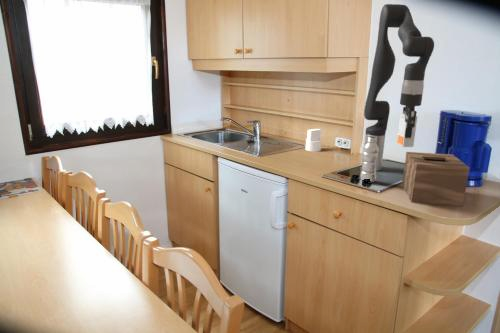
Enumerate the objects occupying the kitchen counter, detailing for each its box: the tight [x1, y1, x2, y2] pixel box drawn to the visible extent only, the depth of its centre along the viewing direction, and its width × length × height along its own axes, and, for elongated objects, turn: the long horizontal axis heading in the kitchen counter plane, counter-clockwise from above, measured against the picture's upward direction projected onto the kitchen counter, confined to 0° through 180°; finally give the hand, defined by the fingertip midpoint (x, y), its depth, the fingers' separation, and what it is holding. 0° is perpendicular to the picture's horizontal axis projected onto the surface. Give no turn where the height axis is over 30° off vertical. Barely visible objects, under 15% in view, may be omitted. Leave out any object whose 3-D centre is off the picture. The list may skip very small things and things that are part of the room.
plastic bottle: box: [360, 137, 379, 183], centre depth 165 cm, size 6×7×20 cm
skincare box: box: [396, 113, 418, 148], centre depth 147 cm, size 6×4×12 cm
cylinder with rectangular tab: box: [305, 128, 322, 152], centre depth 224 cm, size 9×9×12 cm
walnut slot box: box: [401, 151, 471, 207], centre depth 150 cm, size 20×18×15 cm
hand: (406, 135), depth 147 cm, fingers closed on skincare box, 7 cm apart
